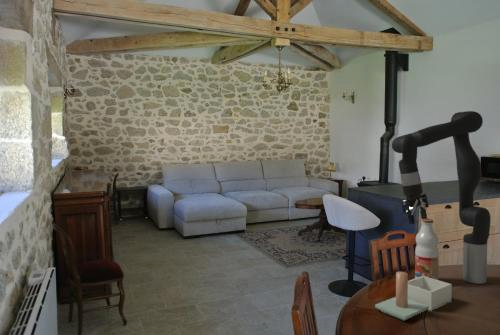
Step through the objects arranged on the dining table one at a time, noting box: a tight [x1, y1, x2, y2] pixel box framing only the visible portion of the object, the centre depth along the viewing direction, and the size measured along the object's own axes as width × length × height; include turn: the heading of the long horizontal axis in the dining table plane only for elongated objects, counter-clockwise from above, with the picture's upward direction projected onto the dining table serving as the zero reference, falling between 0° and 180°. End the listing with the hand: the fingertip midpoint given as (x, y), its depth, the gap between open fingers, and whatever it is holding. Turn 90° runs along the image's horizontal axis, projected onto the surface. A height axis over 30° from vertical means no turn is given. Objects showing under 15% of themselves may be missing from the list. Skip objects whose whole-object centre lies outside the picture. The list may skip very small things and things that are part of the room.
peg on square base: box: [374, 271, 429, 322], centre depth 141 cm, size 14×12×14 cm
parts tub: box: [408, 276, 453, 312], centre depth 150 cm, size 14×12×7 cm
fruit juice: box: [414, 218, 439, 280], centre depth 171 cm, size 9×9×28 cm
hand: (418, 221), depth 161 cm, fingers open, 8 cm apart
